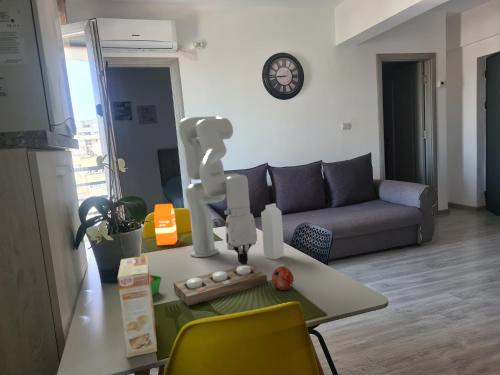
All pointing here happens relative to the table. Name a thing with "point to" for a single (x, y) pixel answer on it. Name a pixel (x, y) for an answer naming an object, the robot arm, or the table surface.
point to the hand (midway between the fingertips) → (243, 263)
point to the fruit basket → (155, 283)
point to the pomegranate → (282, 278)
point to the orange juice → (165, 224)
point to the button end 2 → (243, 270)
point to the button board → (219, 285)
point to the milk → (272, 232)
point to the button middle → (219, 276)
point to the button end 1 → (194, 283)
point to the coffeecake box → (137, 306)
